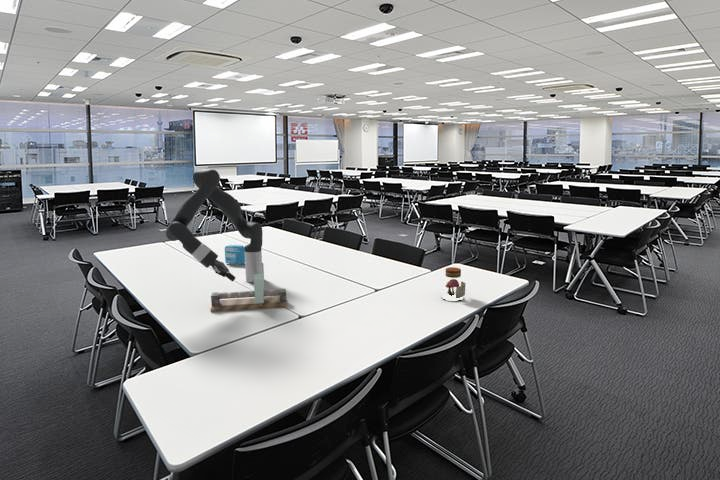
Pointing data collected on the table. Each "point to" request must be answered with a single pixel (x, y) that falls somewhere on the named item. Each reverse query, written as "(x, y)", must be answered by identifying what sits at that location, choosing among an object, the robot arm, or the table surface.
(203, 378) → the table surface
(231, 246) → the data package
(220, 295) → the pipe stand
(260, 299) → the pale green rectangular block
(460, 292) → the jar with lid
